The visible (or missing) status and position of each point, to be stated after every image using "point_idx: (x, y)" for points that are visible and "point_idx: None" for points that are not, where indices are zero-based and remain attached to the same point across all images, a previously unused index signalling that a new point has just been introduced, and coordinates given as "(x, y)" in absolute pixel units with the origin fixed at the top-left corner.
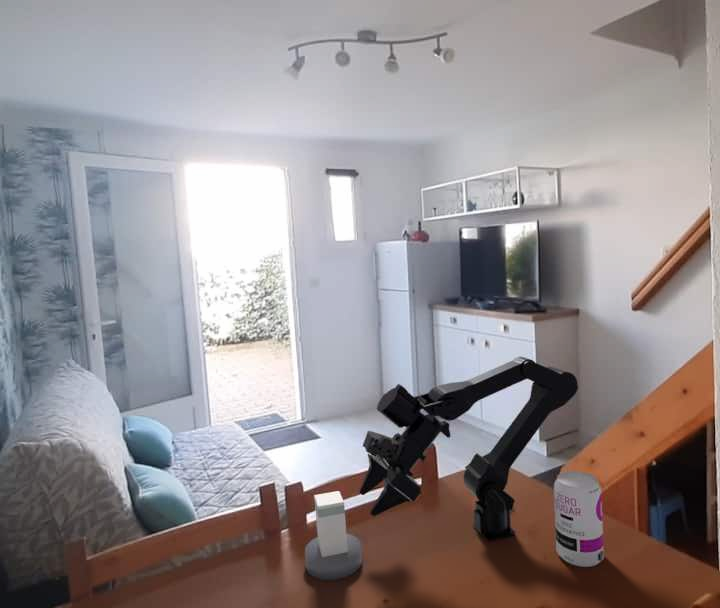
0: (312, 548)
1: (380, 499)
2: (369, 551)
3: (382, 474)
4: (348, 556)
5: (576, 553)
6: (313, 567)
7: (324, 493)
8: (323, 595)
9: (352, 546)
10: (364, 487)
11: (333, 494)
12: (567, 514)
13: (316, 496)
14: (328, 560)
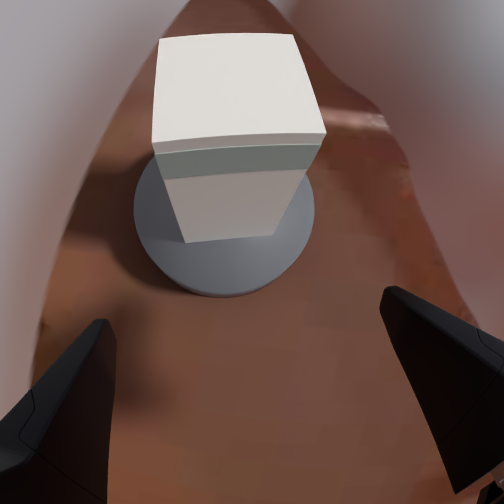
0: None
1: (26, 393)
2: (256, 325)
3: (461, 447)
4: (159, 242)
5: None
6: None
7: (303, 66)
8: (98, 186)
9: (215, 261)
10: (404, 317)
11: (280, 99)
12: None
13: (275, 38)
14: (158, 182)
